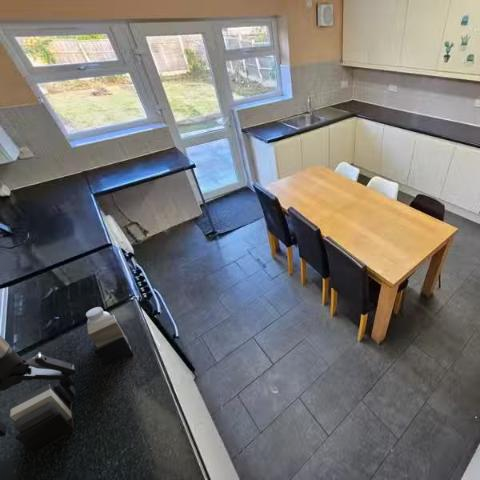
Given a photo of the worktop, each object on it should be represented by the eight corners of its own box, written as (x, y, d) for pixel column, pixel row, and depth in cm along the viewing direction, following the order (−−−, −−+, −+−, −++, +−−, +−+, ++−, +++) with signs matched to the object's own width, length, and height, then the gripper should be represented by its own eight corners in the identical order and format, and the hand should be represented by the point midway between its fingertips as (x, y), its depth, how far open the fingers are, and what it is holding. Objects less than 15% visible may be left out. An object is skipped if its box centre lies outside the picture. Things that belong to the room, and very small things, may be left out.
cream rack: (101, 348, 96) (85, 325, 91) (126, 336, 101) (113, 312, 95) (106, 368, 89) (89, 344, 83) (133, 354, 94) (119, 330, 88)
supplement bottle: (118, 326, 105) (104, 302, 99) (121, 337, 101) (106, 312, 94) (98, 335, 102) (81, 310, 95) (99, 347, 97) (82, 321, 91)
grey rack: (36, 421, 76) (13, 399, 70) (72, 401, 80) (53, 379, 75) (36, 455, 68) (9, 433, 63) (75, 431, 73) (54, 409, 68)
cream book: (35, 431, 72) (10, 409, 67) (71, 411, 77) (50, 388, 71) (35, 439, 71) (9, 416, 65) (71, 418, 75) (50, 395, 70)
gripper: (-112, 412, 50) (-33, 464, 61) (60, 336, 64) (100, 388, 75) (-98, 384, 55) (-28, 436, 66) (59, 319, 69) (96, 371, 80)
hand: (40, 411), depth 70 cm, fingers open, 13 cm apart
